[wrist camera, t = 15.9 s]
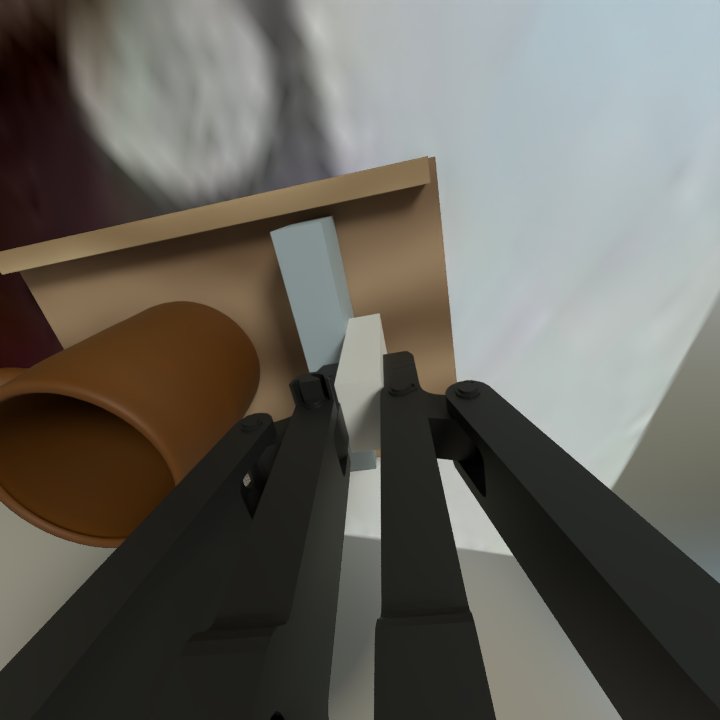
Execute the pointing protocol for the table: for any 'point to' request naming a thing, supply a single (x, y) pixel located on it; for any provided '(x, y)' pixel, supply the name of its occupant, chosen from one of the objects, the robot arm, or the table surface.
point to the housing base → (264, 271)
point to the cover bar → (318, 297)
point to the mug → (121, 419)
